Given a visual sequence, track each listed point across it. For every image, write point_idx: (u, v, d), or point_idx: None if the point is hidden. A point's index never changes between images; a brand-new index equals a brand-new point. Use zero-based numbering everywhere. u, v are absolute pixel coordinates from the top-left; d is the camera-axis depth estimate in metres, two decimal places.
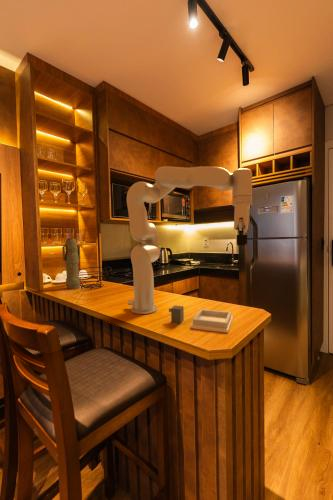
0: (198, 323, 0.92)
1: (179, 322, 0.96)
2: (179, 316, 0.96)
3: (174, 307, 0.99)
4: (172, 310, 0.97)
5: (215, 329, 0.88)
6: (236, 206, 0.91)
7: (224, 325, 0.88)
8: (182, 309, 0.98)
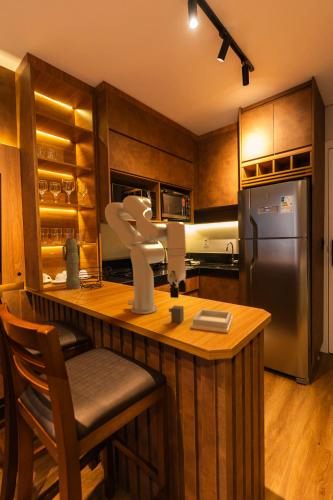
0: (198, 323, 0.92)
1: (179, 322, 0.96)
2: (179, 316, 0.96)
3: (174, 307, 0.99)
4: (172, 310, 0.97)
5: (215, 329, 0.88)
6: (169, 259, 0.93)
7: (224, 325, 0.88)
8: (182, 309, 0.98)
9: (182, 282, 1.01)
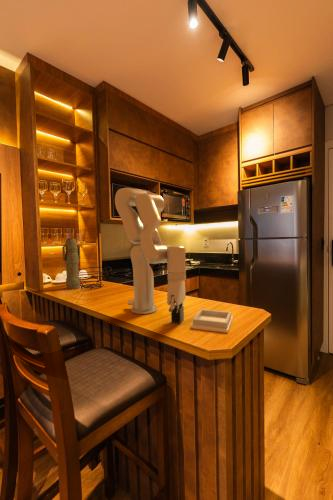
0: (198, 323, 0.92)
1: (179, 322, 0.96)
2: None
3: None
4: None
5: (215, 329, 0.88)
6: (169, 283, 0.94)
7: (224, 325, 0.88)
8: (182, 309, 0.98)
9: None
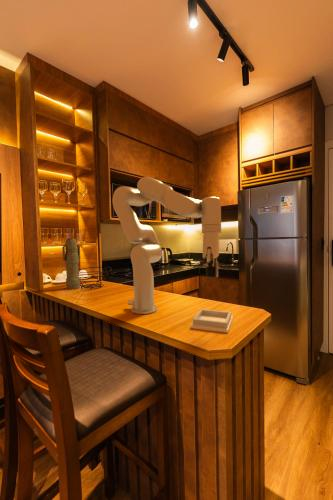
0: (198, 323, 0.92)
1: (215, 276, 0.93)
2: (215, 270, 0.92)
3: None
4: None
5: (215, 329, 0.88)
6: (204, 235, 0.91)
7: (224, 325, 0.88)
8: (217, 264, 0.95)
9: None
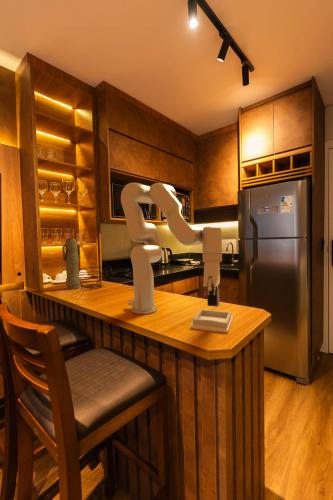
0: (198, 323, 0.92)
1: (216, 305, 0.93)
2: (216, 298, 0.93)
3: None
4: None
5: (215, 329, 0.88)
6: (205, 264, 0.91)
7: (224, 325, 0.88)
8: (218, 292, 0.95)
9: None
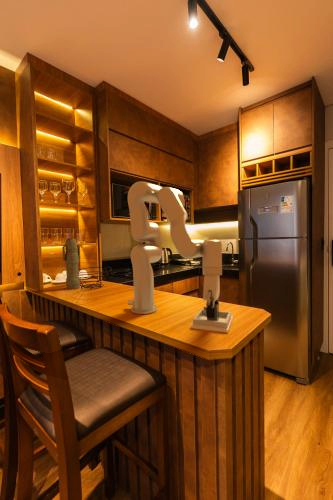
0: (198, 323, 0.92)
1: None
2: (215, 315, 0.94)
3: None
4: None
5: (215, 329, 0.88)
6: (205, 278, 0.92)
7: (224, 325, 0.88)
8: (218, 307, 0.96)
9: (215, 300, 0.99)
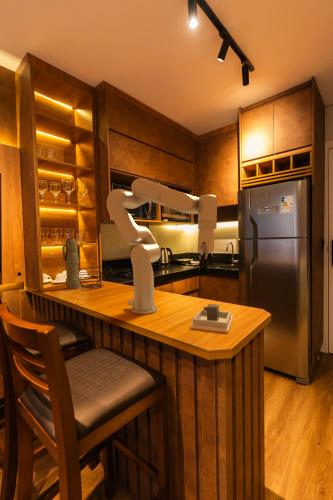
0: (198, 323, 0.92)
1: None
2: (215, 315, 0.94)
3: (209, 305, 0.96)
4: (208, 308, 0.95)
5: (215, 329, 0.88)
6: (200, 231, 0.95)
7: (224, 325, 0.88)
8: (218, 307, 0.96)
9: (210, 255, 1.03)
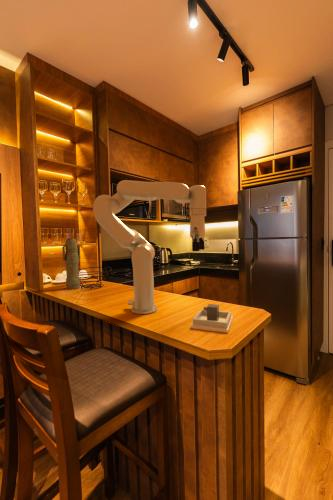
0: (198, 323, 0.92)
1: None
2: (215, 315, 0.94)
3: (209, 305, 0.96)
4: (208, 308, 0.95)
5: (215, 329, 0.88)
6: (191, 217, 1.06)
7: (224, 325, 0.88)
8: (218, 307, 0.96)
9: (201, 240, 1.15)
